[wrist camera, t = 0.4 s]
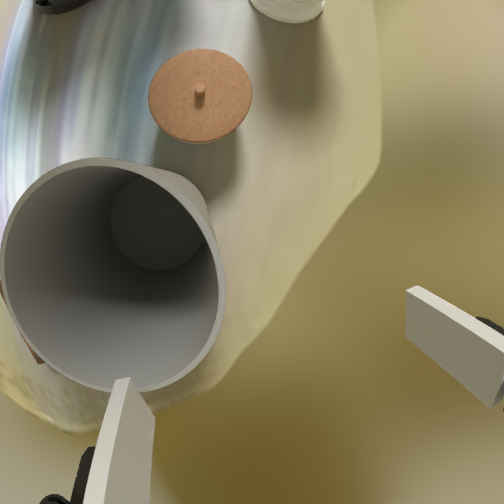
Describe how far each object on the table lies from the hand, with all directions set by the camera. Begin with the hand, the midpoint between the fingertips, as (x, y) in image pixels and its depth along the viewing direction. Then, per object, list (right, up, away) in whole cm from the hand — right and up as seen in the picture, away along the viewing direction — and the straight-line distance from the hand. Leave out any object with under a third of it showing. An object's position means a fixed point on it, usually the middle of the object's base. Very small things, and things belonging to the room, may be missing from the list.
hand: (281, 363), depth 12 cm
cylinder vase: (-13, +9, +25) cm, 29 cm away
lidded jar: (-8, +23, +22) cm, 33 cm away
